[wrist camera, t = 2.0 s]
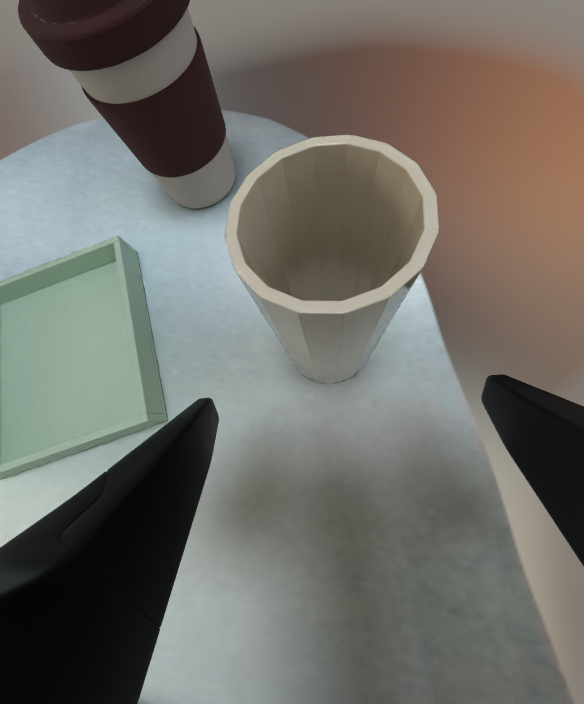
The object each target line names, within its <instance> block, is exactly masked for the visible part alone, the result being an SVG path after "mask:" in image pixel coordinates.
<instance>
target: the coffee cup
mask: <svg viewBox="0 0 584 704" xmlns="http://www.w3.org/2000/svg"><path fill="white" fill-rule="evenodd" d="M189 1H190V0H19V5H18V13H19V18H20V22H21V24H22V26H23V28H24V29H25V30H26V31H27V33H28V34H29V35H30V37H31V38H32V39H33V41H34V42H35V43H36V44H37V46H38V47H39V48H40V50H41V51H42V52H43V54H44V55H45V56H46V57H47V58H48V59H49V60H50V61H51V62H52V63H54V64H55V65H57V66H59V67H61V68H64V69H68V70H69V71H70V72H71V73H72V74H73V76H74V77H75V78H76V79H77V80H78V82H79V83H80V84H81V86H82V89H83V91H84V93H85V95H86V96H87V98H88V99H89V100H90V102H91V103H92V104H93V105H94V106H95V108H96V109H97V110H98V111H99V113H100V114H101V115H102V116H103V117H104V119H105V120H106V121H107V122H108V124H109V125H110V126H111V127H112V128H113V130H114V131H115V132H116V133H117V135H118V136H119V137H120V138H121V139H122V141H123V142H124V143H125V144H126V145H127V147H128V148H129V149H130V150H131V152H132V153H133V154H134V155H135V156H136V158H137V159H138V160H139V161H140V162H141V164H142V165H143V166H144V167H145V168H146V169H147V170H148V171H150V172H151V173H153V175H154V176H155V177H156V178H157V180H158V181H159V182H160V183H161V185H162V186H163V187H164V188H165V190H166V191H167V192H168V193H169V195H170V196H171V197H172V198H173V199H174V200H175V201H176V202H177V203H178V204H180V205H182V206H185V207H188V208H194V209H196V208H204V207H208V206H211V205H213V204H215V203H217V202H219V201H220V200H221V199H223V198H224V197H225V196H226V195H227V194H228V192H229V191H230V190H231V188H232V186H233V184H234V181H235V175H236V171H235V165H234V161H233V158H232V155H231V151H230V148H229V144H228V141H227V138H226V128H225V122H224V119H223V115H222V112H221V108H220V105H219V101H218V98H217V94H216V91H215V87H214V84H213V81H212V77H211V73H210V70H209V66H208V63H207V60H206V56H205V52H204V49H203V45H202V42H201V39H200V36H199V34H198V32H197V30H196V29H195V27H194V26H193V23H192V20H191V17H190V13H189V10H188V5H189Z"/></svg>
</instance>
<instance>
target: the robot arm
mask: <svg viewBox="0 0 584 704" xmlns="http://www.w3.org/2000/svg"><path fill="white" fill-rule="evenodd" d="M482 403H483V405H484V407H485V409H486V410H487V413H488V415H489V417H490V419H491V421H492V423H493V424H494V426H495V428H496V430H497V432H498V434H499V436H500V438H501V440H502V442H503V444H504V445H505V447H506V449H507V450H508V452H509V454H510V455H511V457H512V458H513V460H514V461H515V463H516V464H517V466H518V467H519V469H520V470H521V472H522V473H523V475H524V476H525V478H526V479H527V481H528V482H529V484H530V485H531V487H532V489H533V490H534V492H535V493H536V495H537V496H538V498H539V499H540V501H541V502H542V504H543V505H544V507H545V508H546V510H547V511H548V513H549V514H550V516H551V517H552V519H553V520H554V522H555V524H556V525H557V526H558V528H559V530H560V531H561V532H562V534H563V536H564V537H565V539H566V540H567V542H568V543H569V545H570V546H571V548H572V549H573V551H574V552H575V554H576V555H577V557H578V558H579V560H580V562H581V563H582V564H583V566H584V407H583V406H581V405H579V404H576V403H573V402H571V401H569V400H566V399H564V398H561V397H559V396H556V395H554V394H551V393H549V392H546V391H544V390H541V389H539V388H536V387H534V386H531V385H529V384H526V383H524V382H521V381H519V380H516V379H514V378H511V377H509V376H506V375H491V376H488V377H487V379H486V382H485V386H484V390H483V393H482ZM218 422H219V417H218V413H217V410H216V408H215V405H214V402H213V400H212V399H211V398H201V399H198V400H197V401H196V402H194V403H193V404H192V405H190V406H189V407H188V408H187V409H185V410H184V411H183V412H181V413H180V414H179V415H178V416H176V417H175V418H174V419H173V420H171V421H170V422H169V423H167V424H166V425H165V426H164V427H162V428H161V429H160V430H158V431H157V432H156V433H155V434H153V435H152V436H151V437H149V438H148V439H147V440H146V441H144V442H143V443H142V444H140V445H139V446H138V447H137V448H135V449H134V450H133V451H131V452H130V453H129V454H128V455H126V456H125V457H124V458H122V459H121V460H120V461H119V462H117V463H116V464H115V465H113V466H112V467H111V468H110V469H108V471H107V472H104V473H103V474H102V475H100V476H99V477H98V478H97V479H95V480H94V481H93V482H91V483H90V484H89V485H87V486H86V487H85V488H84V489H82V490H81V491H80V492H78V493H77V494H76V495H74V496H73V497H71V498H70V499H69V500H67V501H66V502H64V503H63V504H62V505H60V506H59V507H57V508H56V509H55V510H53V511H52V512H50V513H49V514H48V515H46V516H45V517H43V518H42V519H40V520H39V521H38V522H36V523H35V524H33V525H32V526H30V527H29V528H28V529H26V530H25V531H23V532H22V533H20V534H19V535H18V536H16V537H15V538H13V539H12V540H10V541H9V542H8V543H6V544H5V545H3V546H2V547H0V704H137V703H138V700H139V697H140V694H141V690H142V687H143V684H144V680H145V677H146V674H147V671H148V667H149V664H150V661H151V658H152V654H153V651H154V648H155V644H156V641H157V638H158V635H159V631H160V627H161V624H162V621H163V618H164V614H165V611H166V608H167V604H168V601H169V598H170V595H171V591H172V588H173V585H174V581H175V578H176V575H177V572H178V568H179V565H180V562H181V559H182V555H183V552H184V549H185V545H186V542H187V539H188V536H189V532H190V529H191V526H192V523H193V519H194V516H195V513H196V509H197V506H198V503H199V500H200V496H201V493H202V490H203V486H204V483H205V480H206V477H207V473H208V470H209V467H210V463H211V459H212V454H213V449H214V443H215V438H216V433H217V428H218Z"/></svg>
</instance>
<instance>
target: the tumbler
mask: <svg viewBox="0 0 584 704" xmlns="http://www.w3.org/2000/svg"><path fill="white" fill-rule="evenodd" d="M438 231H439V226H438V211H437V197H436V193H435V191H434V189H433V188H432V186H431V185H430V183H429V182H428V180H427V178H426V177H425V175H424V173H423V172H422V170H421V169H420V167H419V165H418V164H417V163H416V162H414V161H413V160H411V159H410V158H408V157H407V156H405V155H404V154H402V153H401V152H399V151H398V150H396V149H394V148H393V147H392V146H390V145H389V144H386V143H384V142H380V141H375V140H371V139H367V138H362V137H358V136H354V135H350V136H349V135H339V136H325V137H313V138H309V139H307V140H304V141H302V142H299V143H297V144H294V145H291V146H289V147H286V148H284V149H281V150H279V151H277V152H275V153H274V154H272V155H271V156H270V157H269V158H268V159H266V160H265V161H264V162H263V163H261V164H260V165H259V166H258V167H256V168H255V169H254V170H253V171H251V172H250V173H249V175H247V177H246V178H245V180H244V181H243V183H242V185H241V186H240V188H239V190H238V191H237V193H236V194H235V196H234V198H233V199H232V201H231V202H230V205H229V212H228V218H227V224H226V230H225V241H226V244H227V247H228V251H229V254H230V257H231V261H232V264H233V267H234V270H235V272H236V273H237V275H238V276H239V278H240V280H241V281H242V283H243V284H244V286H245V288H246V289H247V291H248V292H249V294H250V296H251V297H252V299H253V300H254V302H255V304H256V305H257V307H258V308H259V310H260V312H261V313H262V315H263V316H264V318H265V320H266V321H267V323H268V324H269V326H270V328H271V329H272V331H273V332H274V334H275V336H276V337H277V339H278V340H279V342H280V344H281V345H282V347H283V348H284V350H285V352H286V353H287V355H288V356H289V358H290V360H291V361H292V363H293V364H294V365H295V366H296V368H297V369H298V370H299V371H300V372H301V373H302V374H303V375H304V376H306V377H307V378H309V379H311V380H313V381H316V382H320V383H326V384H330V383H338V382H342V381H345V380H347V379H349V378H351V377H352V376H354V375H355V374H356V373H357V372H358V371H359V370H360V369H361V368H362V367H363V366H364V364H365V363H366V361H367V359H368V358H369V356H370V354H371V353H372V351H373V350H374V348H375V346H376V345H377V343H378V341H379V340H380V338H381V336H382V335H383V333H384V331H385V330H386V328H387V326H388V325H389V323H390V321H391V320H392V318H393V316H394V315H395V313H396V312H397V310H398V308H399V307H400V305H401V303H402V302H403V300H404V298H405V297H406V295H407V293H408V292H409V290H410V288H411V287H412V285H413V283H414V282H415V280H416V278H417V277H418V275H419V274H420V272H421V270H422V269H423V267H424V264H425V262H426V260H427V258H428V255H429V253H430V251H431V249H432V246H433V244H434V241H435V240H436V237H437V235H438Z"/></svg>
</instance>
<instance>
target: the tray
mask: <svg viewBox="0 0 584 704" xmlns="http://www.w3.org/2000/svg"><path fill="white" fill-rule="evenodd" d="M166 421H167V416H166V410H165V404H164V399H163V393H162V388H161V382H160V377H159V371H158V365H157V360H156V354H155V349H154V343H153V338H152V332H151V327H150V321H149V315H148V310H147V304H146V299H145V293H144V288H143V282H142V276H141V271H140V265H139V260H138V254H137V251H135V250H134V249H133V248H132V247H131V246H130V245H129V244H127V243H126V242H125V241H124V240H123V239H122V238H121V237H119V236H116V237H113V238H111V239H108V240H105V241H103V242H100V243H98V244H95V245H93V246H90V247H87V248H85V249H82V250H80V251H77V252H74V253H72V254H69V255H67V256H64V257H62V258H59V259H56V260H54V261H51V262H49V263H46V264H43V265H41V266H38V267H36V268H33V269H31V270H28V271H25V272H23V273H20V274H18V275H15V276H12V277H10V278H7V279H5V280H2V281H0V479H3V478H6V477H9V476H12V475H15V474H17V473H20V472H23V471H26V470H29V469H32V468H35V467H37V466H40V465H43V464H46V463H49V462H52V461H55V460H57V459H60V458H63V457H66V456H69V455H72V454H75V453H77V452H80V451H83V450H86V449H89V448H92V447H95V446H97V445H100V444H103V443H106V442H109V441H112V440H115V439H117V438H120V437H123V436H126V435H129V434H132V433H135V432H137V431H140V430H143V429H146V428H149V427H152V426H155V425H157V424H160V423H163V422H166Z"/></svg>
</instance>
